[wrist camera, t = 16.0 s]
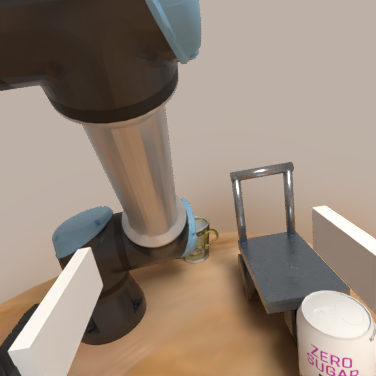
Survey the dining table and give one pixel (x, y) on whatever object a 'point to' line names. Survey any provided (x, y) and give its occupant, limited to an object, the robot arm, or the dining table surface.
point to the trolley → (280, 257)
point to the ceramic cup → (201, 241)
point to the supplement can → (335, 336)
